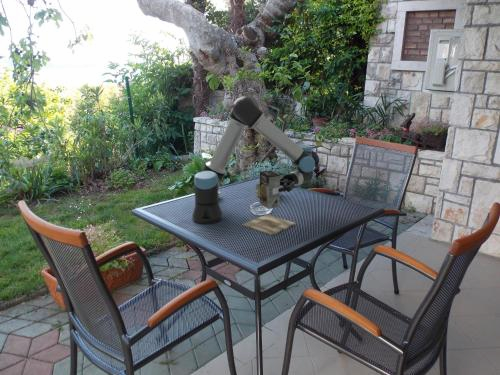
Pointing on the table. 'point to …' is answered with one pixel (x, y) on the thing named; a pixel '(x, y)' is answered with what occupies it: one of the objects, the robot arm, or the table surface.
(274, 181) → the coffee box
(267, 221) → the board
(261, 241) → the table surface
